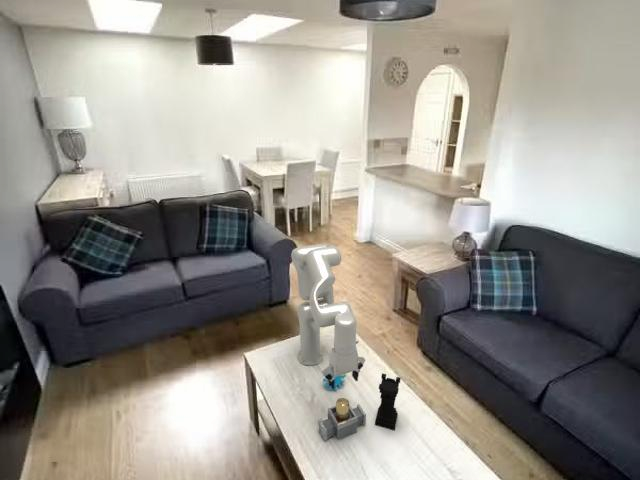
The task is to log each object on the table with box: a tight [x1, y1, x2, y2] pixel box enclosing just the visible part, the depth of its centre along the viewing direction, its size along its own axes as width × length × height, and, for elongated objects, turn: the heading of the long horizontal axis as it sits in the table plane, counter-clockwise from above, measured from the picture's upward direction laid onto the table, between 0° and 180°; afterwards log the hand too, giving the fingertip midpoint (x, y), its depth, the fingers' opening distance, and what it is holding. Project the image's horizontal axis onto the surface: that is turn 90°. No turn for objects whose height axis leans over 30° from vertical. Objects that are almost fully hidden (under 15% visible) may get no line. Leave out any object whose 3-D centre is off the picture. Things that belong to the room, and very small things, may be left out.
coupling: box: [335, 397, 350, 422], centre depth 138 cm, size 5×5×7 cm
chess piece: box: [374, 373, 401, 431], centre depth 141 cm, size 8×8×20 cm
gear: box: [322, 372, 347, 391], centre depth 162 cm, size 11×6×10 cm
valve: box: [317, 403, 367, 442], centre depth 140 cm, size 9×18×8 cm, turn 114°
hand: (343, 382), depth 134 cm, fingers open, 9 cm apart
